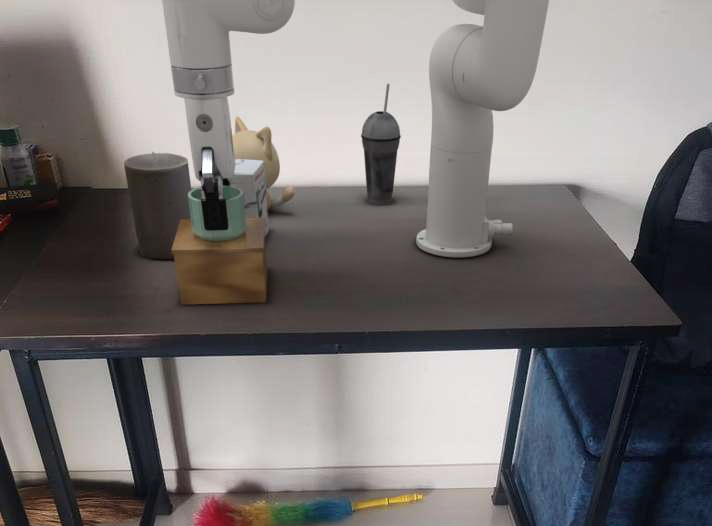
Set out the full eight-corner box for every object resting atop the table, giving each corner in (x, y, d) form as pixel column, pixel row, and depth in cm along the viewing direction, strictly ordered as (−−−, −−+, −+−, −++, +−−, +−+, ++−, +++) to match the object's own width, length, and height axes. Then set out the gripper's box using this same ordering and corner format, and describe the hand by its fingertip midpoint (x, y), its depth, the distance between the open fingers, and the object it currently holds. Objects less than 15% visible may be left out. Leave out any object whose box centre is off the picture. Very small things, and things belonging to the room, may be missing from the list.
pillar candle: (132, 259, 122) (113, 159, 112) (148, 237, 129) (131, 142, 120) (192, 261, 121) (179, 161, 112) (205, 239, 129) (193, 144, 120)
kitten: (208, 205, 143) (197, 117, 134) (253, 195, 148) (246, 110, 139) (252, 226, 134) (244, 134, 125) (298, 215, 139) (294, 125, 130)
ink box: (259, 248, 126) (253, 173, 119) (229, 247, 126) (221, 172, 119) (270, 230, 133) (264, 158, 125) (242, 229, 133) (235, 157, 126)
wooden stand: (268, 269, 119) (264, 217, 114) (267, 303, 109) (263, 247, 104) (187, 271, 118) (180, 219, 113) (179, 305, 108) (171, 249, 103)
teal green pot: (247, 223, 112) (244, 184, 109) (245, 241, 106) (242, 201, 103) (195, 224, 111) (190, 185, 108) (191, 243, 105) (185, 202, 102)
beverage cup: (356, 196, 148) (356, 80, 136) (391, 193, 150) (394, 79, 138) (367, 208, 143) (368, 89, 130) (403, 205, 145) (408, 87, 132)
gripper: (229, 94, 90) (243, 239, 101) (236, 68, 104) (247, 198, 115) (165, 95, 90) (186, 240, 100) (180, 68, 103) (197, 199, 114)
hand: (218, 217), depth 107 cm, fingers open, 9 cm apart
